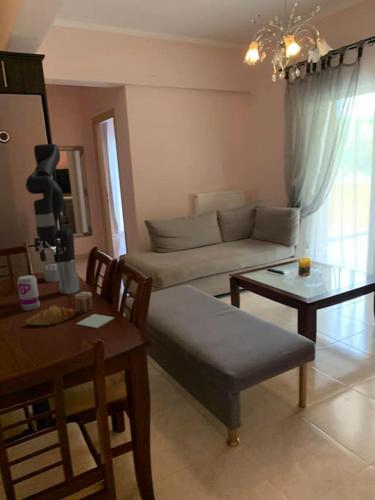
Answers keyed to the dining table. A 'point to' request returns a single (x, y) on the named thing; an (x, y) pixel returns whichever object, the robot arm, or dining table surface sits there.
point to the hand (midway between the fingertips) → (50, 261)
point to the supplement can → (28, 292)
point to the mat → (95, 321)
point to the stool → (83, 296)
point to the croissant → (52, 316)
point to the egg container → (51, 273)
